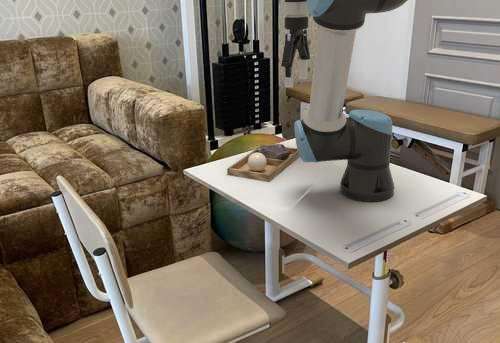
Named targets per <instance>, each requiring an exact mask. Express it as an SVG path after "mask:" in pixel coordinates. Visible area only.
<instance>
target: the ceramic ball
mask: <svg viewBox="0 0 500 343" xmlns="http://www.w3.org/2000/svg"><path fill="white" fill-rule="evenodd" d="M266 164H267V160H266V157H265V156H264V155H263V154H261V153H253V154H251V155H250V157H249V158H248V166H249V167H250V169H251V170H253V171H261V170H263V169H264V168H265V167H266Z"/></svg>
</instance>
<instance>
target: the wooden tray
mask: <svg viewBox="0 0 500 343" xmlns="http://www.w3.org/2000/svg"><path fill="white" fill-rule="evenodd" d="M262 145H269V144H267V143H263V144H262ZM285 148H286V149H289V150H290V152H291V154H290V155H289V157H288V158H285V159H282V160H277V159H270V158H266V160H267V164H266V167H265V168H264V169H263V170H261V171H253V170H251V169H250V167H249V166H248V158H249V157H250V155H251V154H253V153H258V147H257V148H256V149H254V150H252V151H251V152H249V153H247V154H246V155H245V156H243V157H242V158H240V159H239V160H238V161H236V162H234V163H233V164H231V165H229V166H228V167H227V168H226V171H227V173H226V174H227V176H233V177H239V178H243V179H245V178H246V179H251V180H255V181H261V182H262V181H263V182H269V183H270V182H271V181H273V179H275V177H278V175H280V174H281V173H283V171H284V170H285V169H287V168H288V167H289V166H290V165H291V164H292V163H293V162H295V161H296V160H298V158H300V156H299V153H298V149H297V147H296V148H295V147H290V146H285Z"/></svg>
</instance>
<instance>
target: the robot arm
mask: <svg viewBox="0 0 500 343" xmlns="http://www.w3.org/2000/svg"><path fill="white" fill-rule="evenodd" d="M407 1H409V0H284V4H283V9H284V15H285V17H284V29H285V30H289V33H285V36H284V39H285V40H284V46H283V53H282V57H281V58H282V59H281V67H283V68H284V88H289V89H290V88H292V89H293V88H294V66H293V64H294V62H295V61H294V60H295V56H296V52H298V57H299V59H298V79H299V80H307V79H308V60H310V59H311V56H310V55H311V53H310V46H309V40H308V31H307V29H308V28H309V17H308V15H310V16H312V21H313V23H314V24H315V25H316V26H317V27H318V29H317V37H316V44H315V45H316V47H315V52H314V53H315V55H314V63H313V70H312V71H313V72H312V79H311V91H310V97H309V98H310V99H309V106H308V107H307V108H306V109H305V110H304V111H303V113H302V116H301V117H302V119H298V120H295V122H294V123H293V124H294V126H293V127H294V137H295V145H296V148H297V149H298V153H299V156H300V157H299V158H300V159H301V161H302V162H304V163H316V164H317V163H321V162H323V163H324V162H334V161H347V162H346V164H347V165H346V167H345V170H344V172H343V174H342V177H341V179H340V184H339V191H340V193H341V194H342V195H343V196H345V197H347V198H349V199H351V200H354V201H359V202H369V203H370V202H374V203H375V202H380V201H381V202H382V201H385V200H388V199H391V197H393V195H394V193H395V183H394V179H393V176H392V172H391V168H390V161H391V151H392V150H391V148H392V139H393V134H394V133H393V119H392V118H391V117H390V116H389V115H387V114H385V113H383V112H380V111H375V110H371V109H370V110H369V109H353V110H350V111H349V113H348V117H347V116H346V114H345V113H344V112H343V109H344V105H345V104H344V103H345V97H346V93H347V92H346V91H347V85H348V81H349V80H348V79H349V74H350V73H349V72H350V68H351V62H352V57H353V56H352V55H353V51H354V45H355V39H356V32H357V31H358V30H359V29H361V28H362V27H363V26H364V24H365V20H366V16H367V15H368V14H380V13H381V14H382V13H389V12H391V11H394V10H397V9H398V8H400V7H403V5H404V4H406V3H407Z"/></svg>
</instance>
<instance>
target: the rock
mask: <svg viewBox="0 0 500 343" xmlns="http://www.w3.org/2000/svg"><path fill="white" fill-rule="evenodd" d="M285 147H286V146H285V145H284V143H283V144H282V143H273V144H268V145H263V144H260V146H258V147H257V148H258V153H261V154H263V155H264V156H265V157H266V158H270V159H277V160H282V159H285V158H288V157H289V155H290V154H291V152H290V150H289V149H286V148H285Z"/></svg>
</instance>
